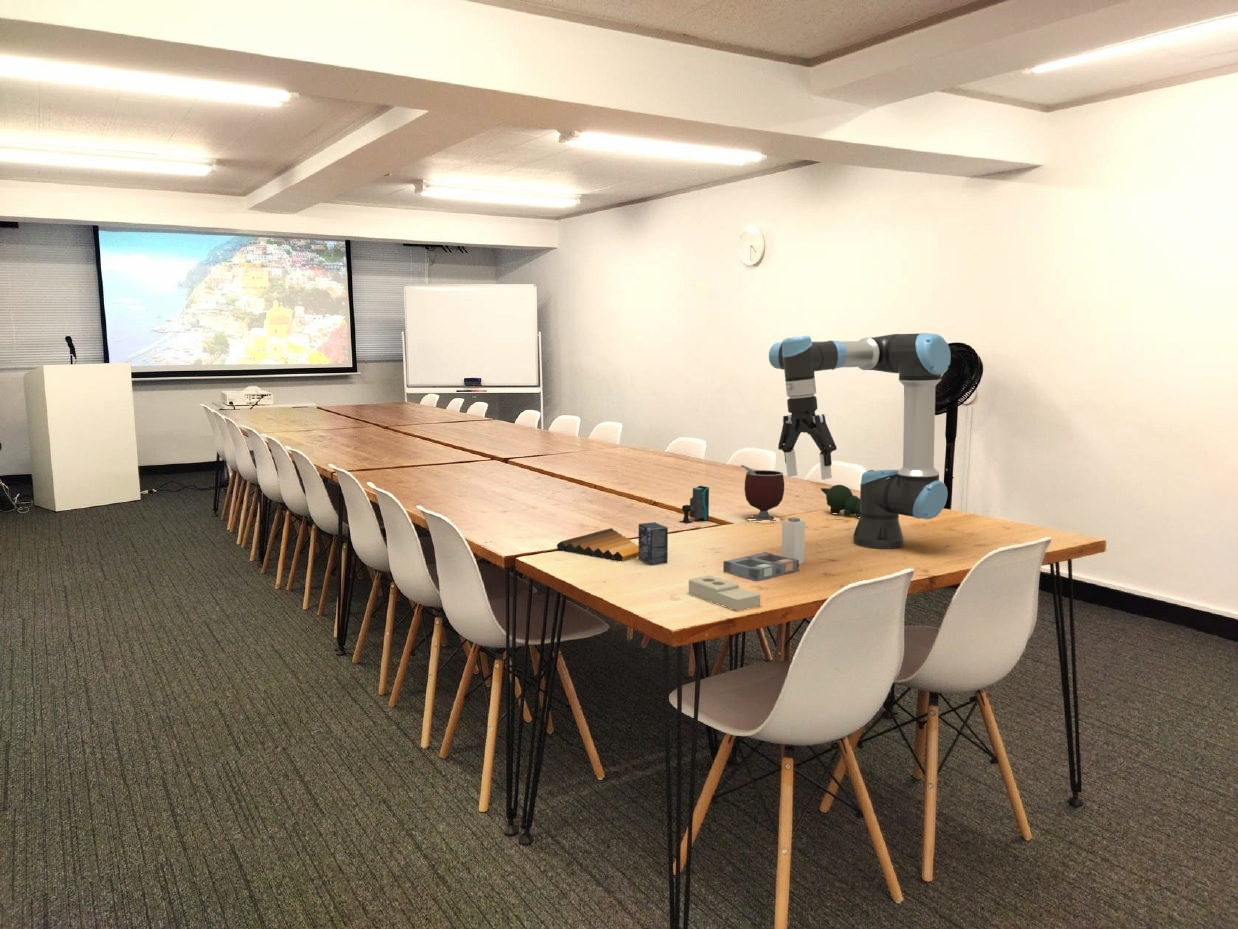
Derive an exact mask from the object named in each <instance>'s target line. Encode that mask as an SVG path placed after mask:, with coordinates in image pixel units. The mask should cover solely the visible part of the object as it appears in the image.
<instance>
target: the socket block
mask: <svg viewBox="0 0 1238 929" xmlns="http://www.w3.org/2000/svg"><path fill="white" fill-rule="evenodd" d="M799 565H800V564H799V560H797V559H792V558H788V557H784V556H781V555H779V554H775V553H770V552H766V551H763V552H761V553H755V554H751V555H746V556H742V557H741V556H740V557H738V558H733V559H729V560H723V573H725V572H727V573H726V574H729V573H730V574H729V575H733V576H736V575H737V577H739V578H744V579H748V580H751V581H755V582H758V581H763V580H767V579H771V578H775V577H778V576H783V575H787V574H792V573H795V572H799V567H800V566H799Z"/></svg>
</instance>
